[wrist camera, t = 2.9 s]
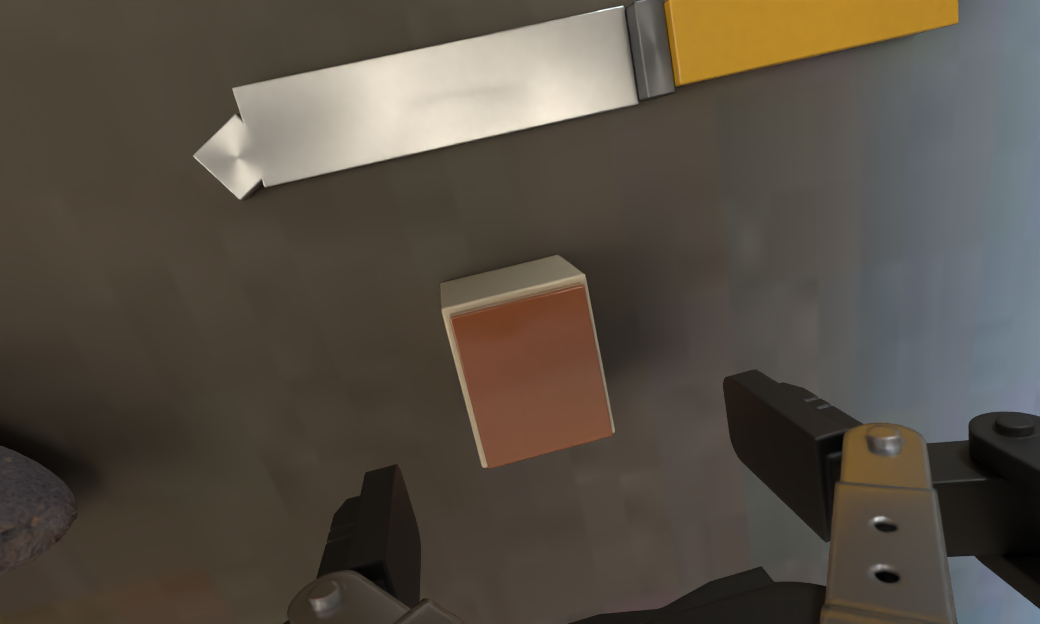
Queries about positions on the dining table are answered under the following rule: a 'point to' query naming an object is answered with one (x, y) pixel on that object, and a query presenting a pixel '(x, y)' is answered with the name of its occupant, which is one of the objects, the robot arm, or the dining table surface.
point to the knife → (529, 80)
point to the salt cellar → (527, 359)
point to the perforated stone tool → (30, 509)
